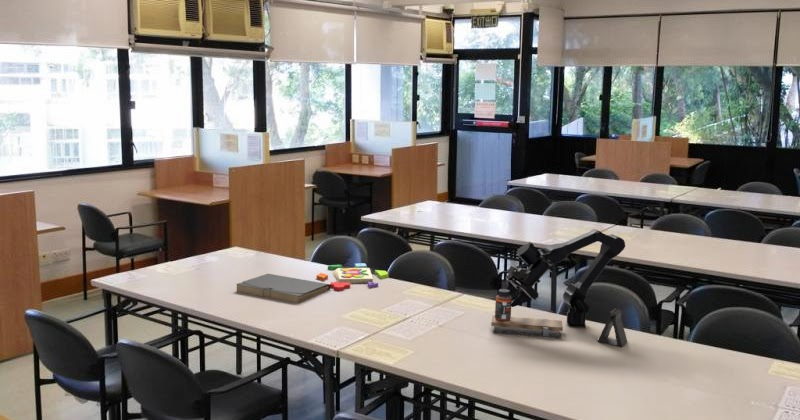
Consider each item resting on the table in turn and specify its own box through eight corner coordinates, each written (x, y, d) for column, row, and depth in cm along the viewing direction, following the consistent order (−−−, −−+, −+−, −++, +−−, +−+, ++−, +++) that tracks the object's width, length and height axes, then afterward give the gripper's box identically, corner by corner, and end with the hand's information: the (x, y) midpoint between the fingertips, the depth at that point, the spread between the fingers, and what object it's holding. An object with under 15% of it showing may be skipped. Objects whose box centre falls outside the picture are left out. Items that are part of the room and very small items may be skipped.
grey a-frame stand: (627, 342, 265) (630, 311, 262) (622, 347, 260) (624, 315, 258) (603, 337, 270) (605, 306, 268) (597, 342, 265) (599, 310, 263)
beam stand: (558, 328, 278) (559, 319, 278) (559, 338, 267) (560, 329, 267) (494, 323, 282) (495, 315, 282) (493, 333, 272) (493, 324, 271)
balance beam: (561, 324, 276) (561, 320, 276) (562, 331, 268) (562, 327, 268) (492, 319, 281) (492, 315, 280) (491, 326, 273) (491, 321, 273)
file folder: (235, 283, 317) (270, 272, 338) (235, 292, 318) (270, 280, 339) (298, 295, 302) (330, 282, 323) (298, 304, 303) (330, 291, 324)
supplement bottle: (507, 322, 272) (509, 293, 270) (492, 320, 274) (493, 291, 273) (512, 318, 277) (514, 289, 275) (497, 315, 280) (499, 287, 278)
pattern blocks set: (306, 271, 355) (307, 265, 354) (371, 266, 368) (371, 260, 367) (331, 292, 320) (331, 285, 320) (401, 286, 334) (401, 279, 333)
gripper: (511, 253, 282) (483, 282, 281) (532, 264, 265) (502, 296, 264) (529, 271, 286) (502, 300, 285) (551, 284, 268) (521, 315, 267)
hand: (506, 302), depth 275 cm, fingers open, 9 cm apart
